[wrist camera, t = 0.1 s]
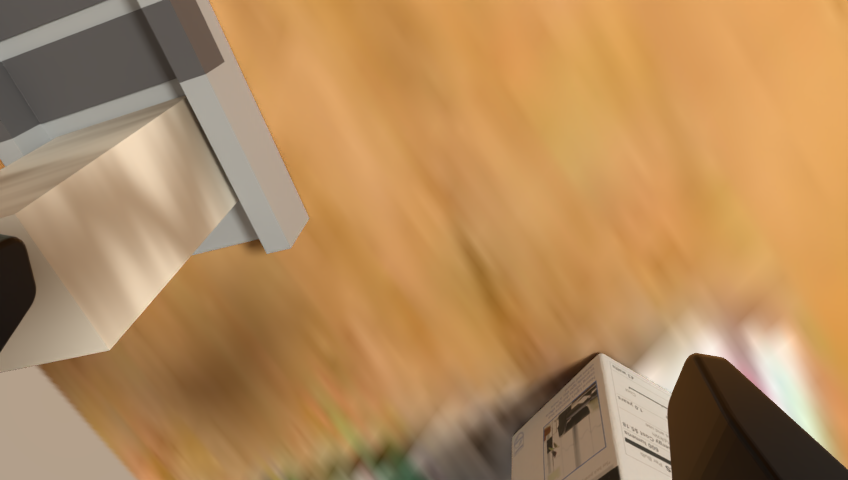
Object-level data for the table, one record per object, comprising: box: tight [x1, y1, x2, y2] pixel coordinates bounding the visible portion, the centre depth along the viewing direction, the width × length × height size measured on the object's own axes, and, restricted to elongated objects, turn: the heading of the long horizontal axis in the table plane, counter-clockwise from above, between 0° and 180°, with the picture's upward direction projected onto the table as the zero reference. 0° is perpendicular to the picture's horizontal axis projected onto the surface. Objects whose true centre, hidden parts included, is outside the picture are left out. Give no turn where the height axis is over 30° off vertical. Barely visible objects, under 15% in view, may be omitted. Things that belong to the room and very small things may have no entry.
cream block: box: [0, 95, 239, 373], centre depth 20 cm, size 4×6×9 cm, turn 109°
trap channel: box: [0, 0, 309, 255], centre depth 22 cm, size 17×9×2 cm, turn 19°
